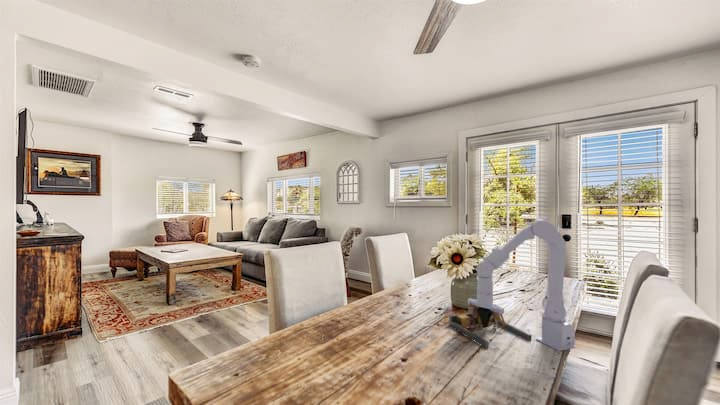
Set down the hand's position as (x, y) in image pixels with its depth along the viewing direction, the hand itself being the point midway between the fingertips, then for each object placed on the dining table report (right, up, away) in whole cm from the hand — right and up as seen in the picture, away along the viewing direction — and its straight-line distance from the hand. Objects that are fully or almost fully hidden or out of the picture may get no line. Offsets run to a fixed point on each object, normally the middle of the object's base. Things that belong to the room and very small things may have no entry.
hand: (485, 327), depth 118 cm
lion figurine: (+2, -1, +2) cm, 2 cm away
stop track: (+1, -1, -1) cm, 2 cm away
